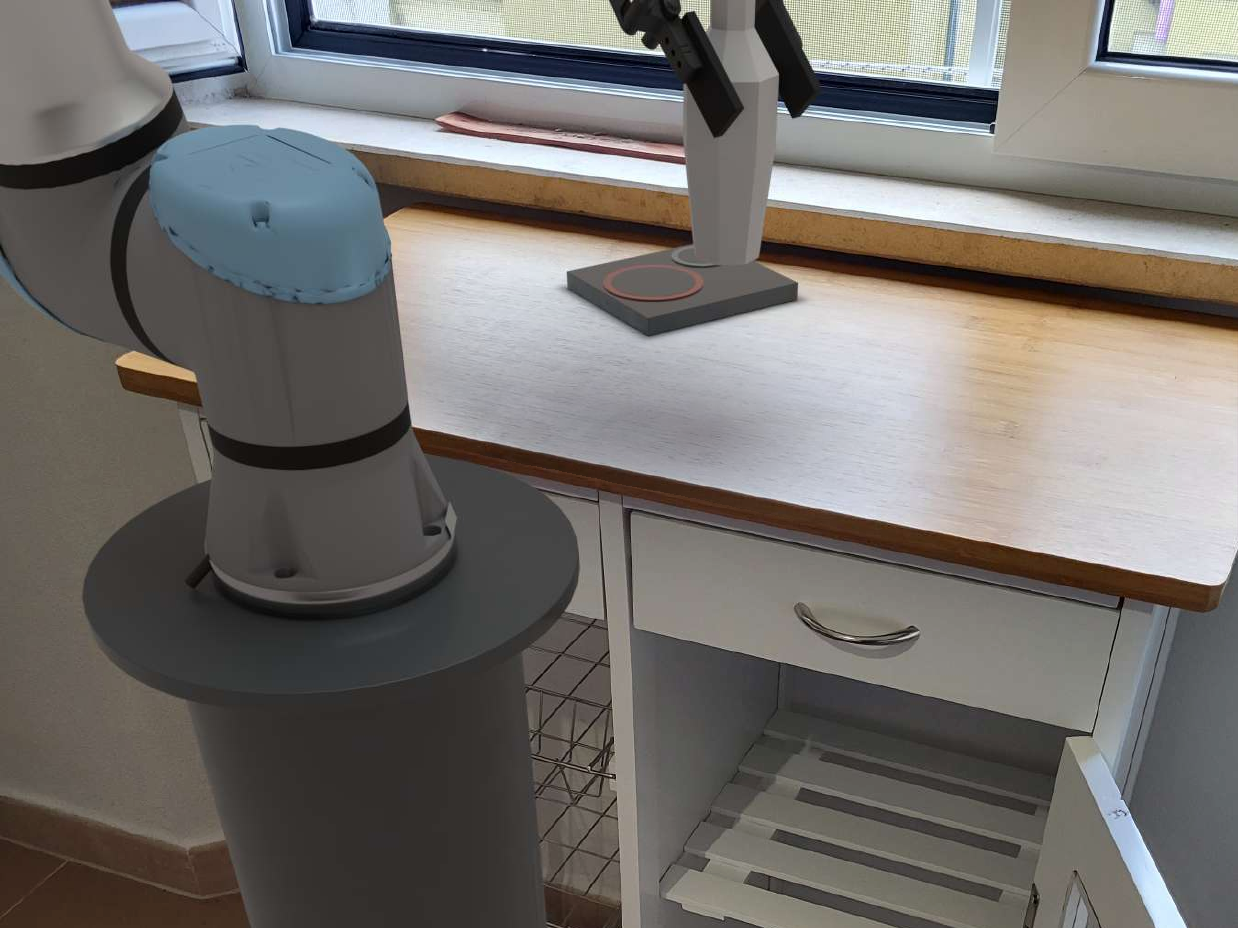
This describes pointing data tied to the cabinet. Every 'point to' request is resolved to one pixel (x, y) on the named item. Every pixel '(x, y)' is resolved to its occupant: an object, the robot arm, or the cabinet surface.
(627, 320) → the hob
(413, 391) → the cabinet surface
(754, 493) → the cabinet surface
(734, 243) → the low poly bottle
